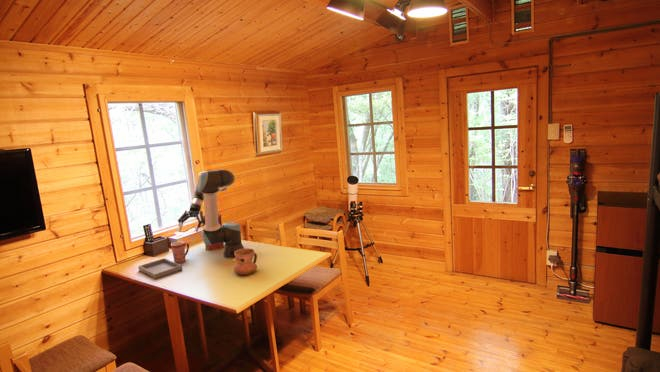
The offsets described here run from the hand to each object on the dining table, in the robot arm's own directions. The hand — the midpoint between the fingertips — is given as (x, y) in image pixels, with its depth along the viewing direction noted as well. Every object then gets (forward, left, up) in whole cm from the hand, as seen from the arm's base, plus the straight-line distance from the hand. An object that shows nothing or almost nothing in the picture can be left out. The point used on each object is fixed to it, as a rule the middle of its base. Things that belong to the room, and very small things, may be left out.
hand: (187, 231), depth 287 cm
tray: (-11, +27, -18) cm, 35 cm away
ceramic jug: (-62, -5, -19) cm, 65 cm away
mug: (-6, +9, -18) cm, 22 cm away
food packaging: (0, -21, -18) cm, 28 cm away
